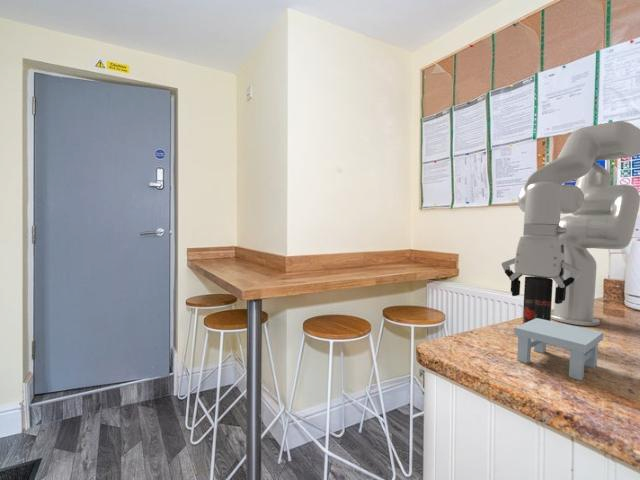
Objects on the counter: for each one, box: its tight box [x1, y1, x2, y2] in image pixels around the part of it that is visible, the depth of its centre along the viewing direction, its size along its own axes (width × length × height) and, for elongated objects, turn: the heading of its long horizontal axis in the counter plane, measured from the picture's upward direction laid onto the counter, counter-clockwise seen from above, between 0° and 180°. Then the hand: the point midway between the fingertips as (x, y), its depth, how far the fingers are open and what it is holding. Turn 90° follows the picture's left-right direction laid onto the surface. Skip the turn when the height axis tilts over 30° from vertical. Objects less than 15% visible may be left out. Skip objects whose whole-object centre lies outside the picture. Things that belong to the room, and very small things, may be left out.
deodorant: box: [522, 276, 554, 324], centre depth 84 cm, size 6×6×15 cm
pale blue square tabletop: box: [513, 318, 604, 381], centre depth 68 cm, size 12×12×7 cm
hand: (536, 299), depth 84 cm, fingers open, 9 cm apart
